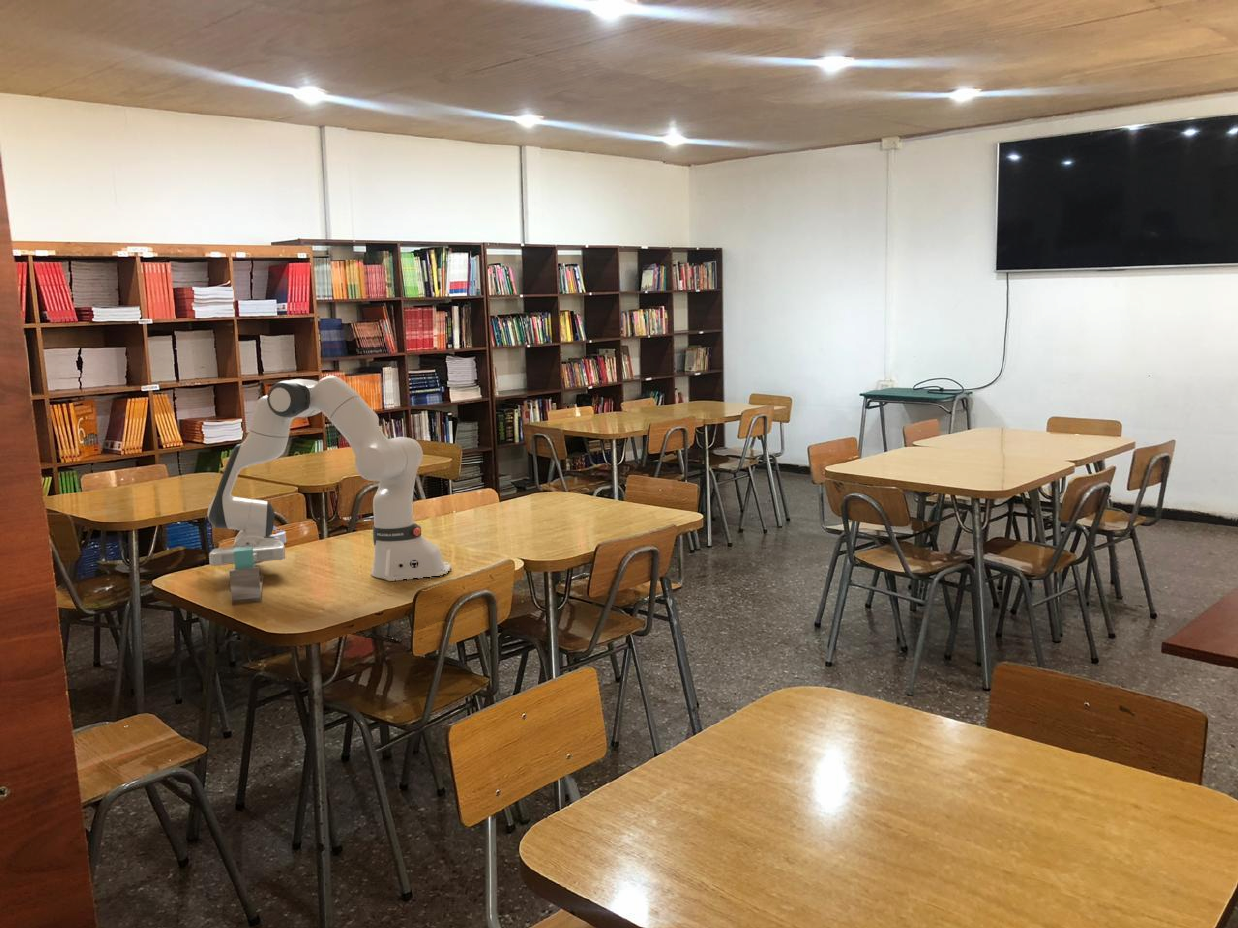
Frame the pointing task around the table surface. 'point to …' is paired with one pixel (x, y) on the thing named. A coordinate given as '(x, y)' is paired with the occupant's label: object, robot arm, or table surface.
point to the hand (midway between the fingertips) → (246, 560)
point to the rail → (246, 585)
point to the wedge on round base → (279, 534)
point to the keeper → (243, 557)
